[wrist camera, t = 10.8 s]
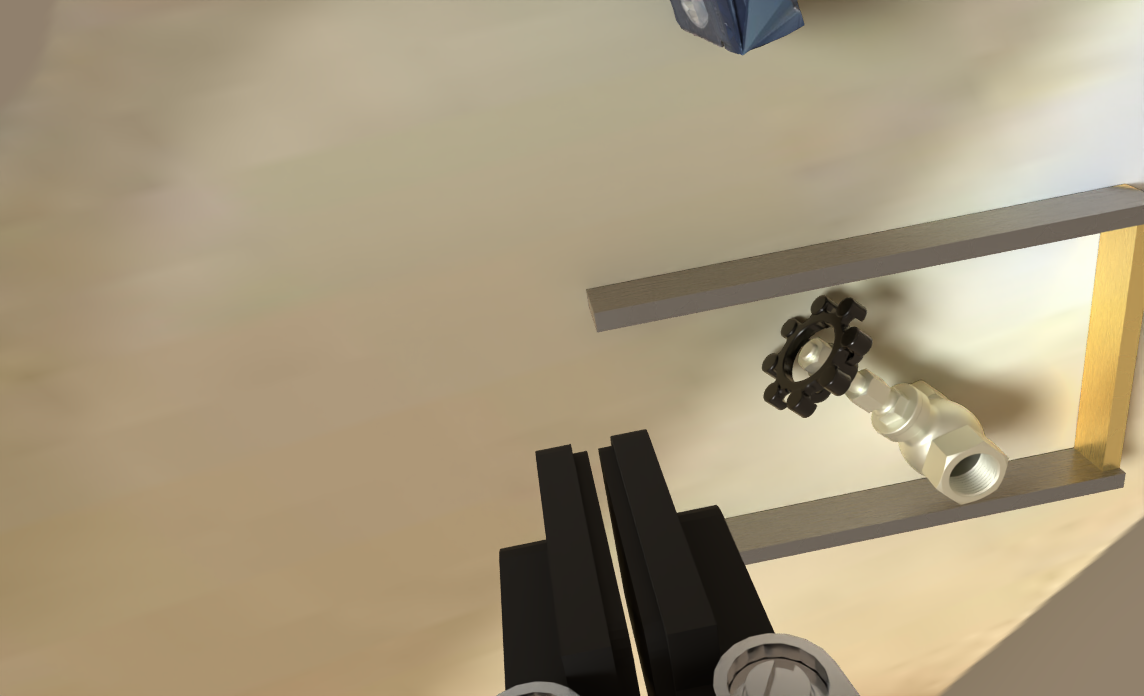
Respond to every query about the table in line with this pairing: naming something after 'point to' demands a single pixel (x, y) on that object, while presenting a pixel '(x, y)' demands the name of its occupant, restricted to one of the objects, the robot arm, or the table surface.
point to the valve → (885, 403)
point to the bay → (1121, 289)
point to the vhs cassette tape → (738, 21)
